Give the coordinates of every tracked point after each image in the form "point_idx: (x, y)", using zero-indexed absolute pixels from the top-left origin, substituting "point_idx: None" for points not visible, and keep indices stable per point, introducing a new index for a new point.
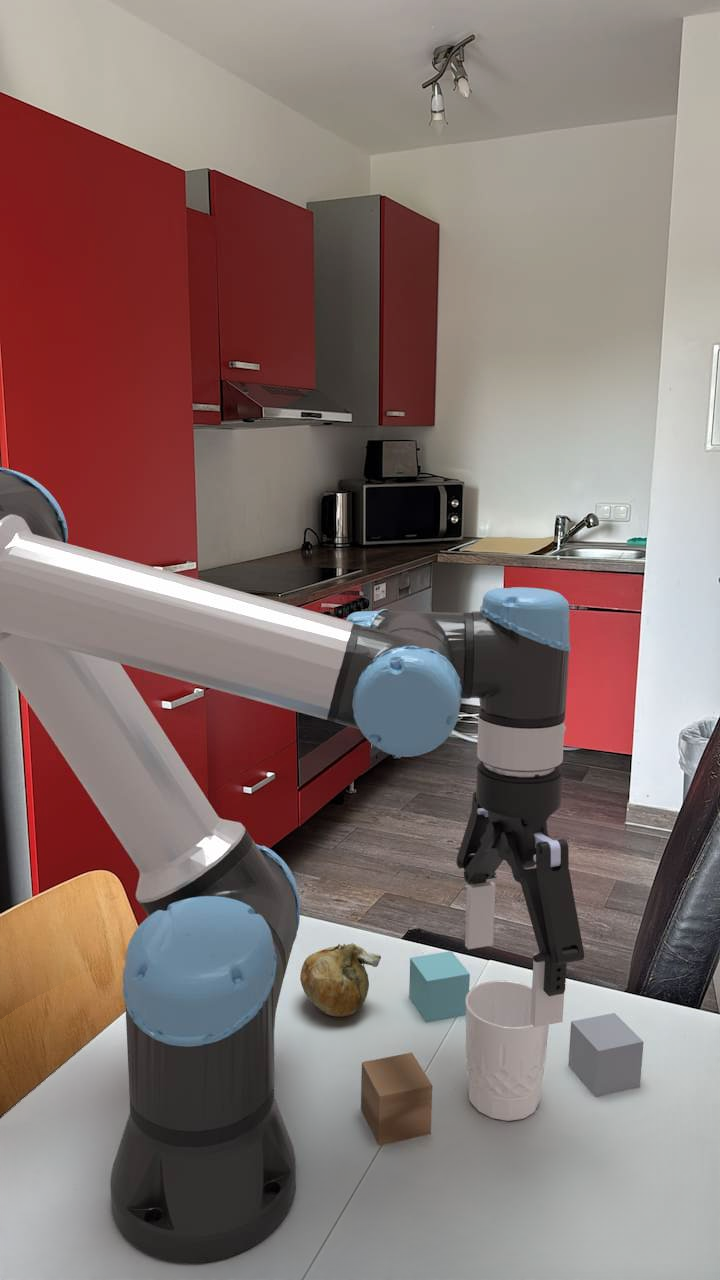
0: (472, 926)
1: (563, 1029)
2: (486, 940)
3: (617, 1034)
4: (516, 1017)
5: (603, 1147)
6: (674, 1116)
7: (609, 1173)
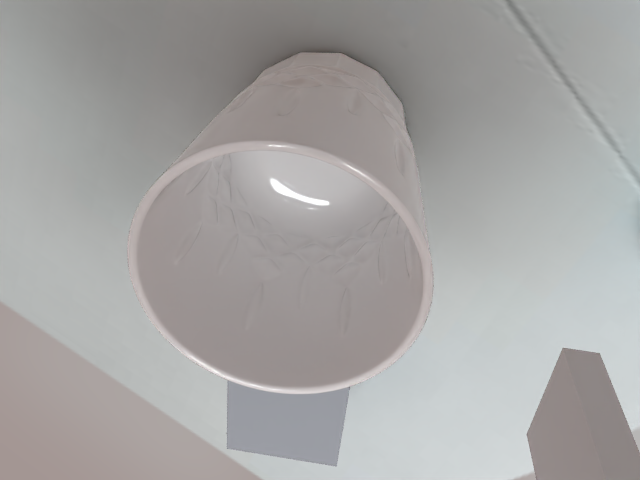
0: (586, 455)
1: (463, 369)
2: (540, 435)
3: (267, 428)
4: (368, 291)
5: (122, 224)
6: (165, 365)
7: (57, 191)
